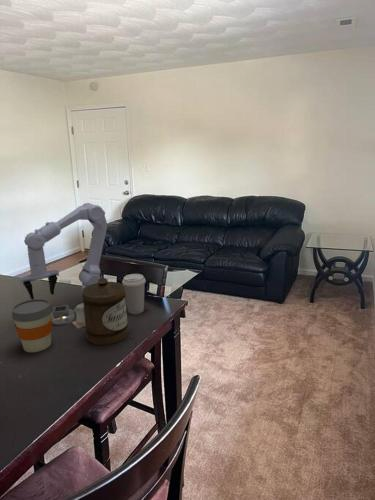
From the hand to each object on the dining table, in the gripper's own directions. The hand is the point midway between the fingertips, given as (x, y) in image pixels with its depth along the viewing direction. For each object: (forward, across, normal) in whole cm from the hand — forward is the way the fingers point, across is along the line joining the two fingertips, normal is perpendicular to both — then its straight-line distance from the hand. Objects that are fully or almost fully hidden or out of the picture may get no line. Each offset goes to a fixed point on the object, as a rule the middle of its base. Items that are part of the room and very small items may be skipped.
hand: (42, 296), depth 145 cm
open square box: (+7, -5, +6) cm, 10 cm away
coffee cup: (+10, -32, +17) cm, 38 cm away
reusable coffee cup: (+10, +9, +19) cm, 23 cm away
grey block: (+9, -10, +14) cm, 20 cm away
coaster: (+10, -10, +14) cm, 20 cm away
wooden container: (+10, -14, +28) cm, 33 cm away
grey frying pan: (+10, -1, +5) cm, 11 cm away
